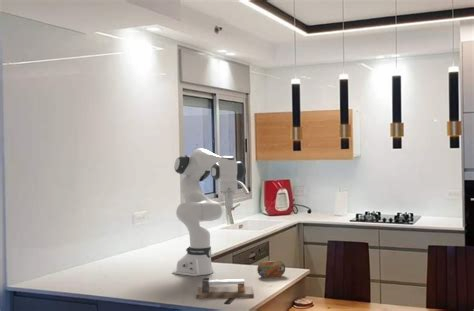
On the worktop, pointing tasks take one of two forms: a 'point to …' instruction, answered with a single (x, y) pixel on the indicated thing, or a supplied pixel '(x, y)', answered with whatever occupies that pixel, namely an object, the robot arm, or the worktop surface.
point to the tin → (271, 269)
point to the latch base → (223, 291)
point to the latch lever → (227, 281)
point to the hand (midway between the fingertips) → (229, 214)
